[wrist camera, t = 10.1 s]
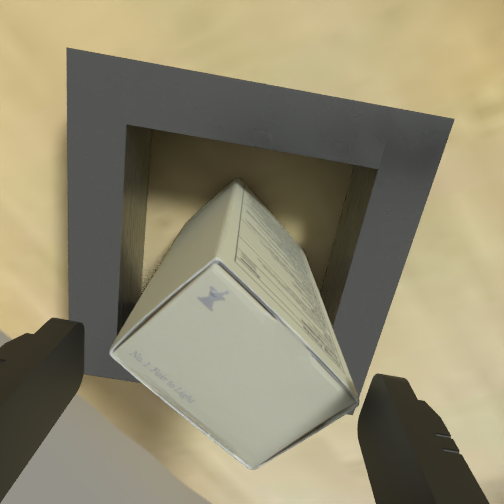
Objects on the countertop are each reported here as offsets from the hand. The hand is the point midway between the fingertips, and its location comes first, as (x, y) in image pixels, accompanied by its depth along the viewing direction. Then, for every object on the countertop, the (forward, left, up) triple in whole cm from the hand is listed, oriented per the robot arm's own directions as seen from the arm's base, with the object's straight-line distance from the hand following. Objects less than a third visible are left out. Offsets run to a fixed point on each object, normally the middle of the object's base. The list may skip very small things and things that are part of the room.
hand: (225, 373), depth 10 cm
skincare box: (0, 0, -12) cm, 12 cm away
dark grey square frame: (0, 0, -12) cm, 12 cm away
